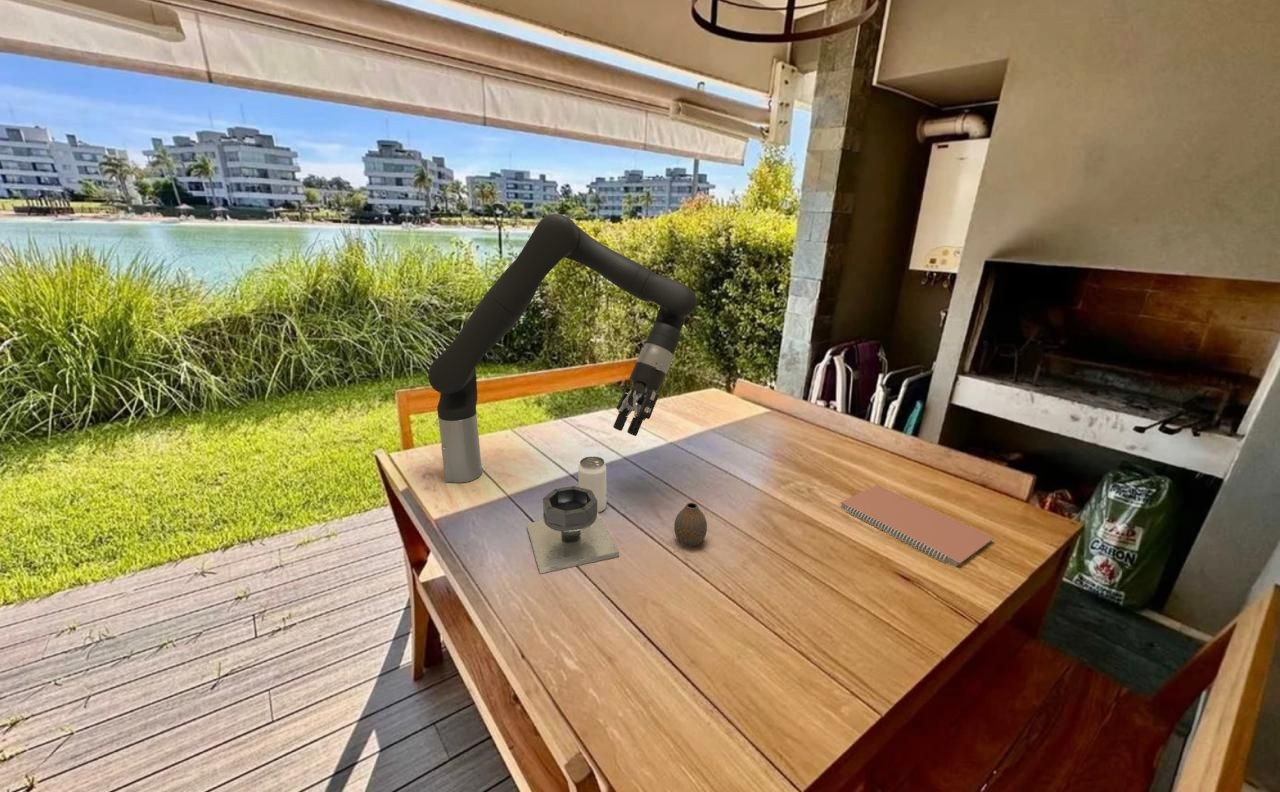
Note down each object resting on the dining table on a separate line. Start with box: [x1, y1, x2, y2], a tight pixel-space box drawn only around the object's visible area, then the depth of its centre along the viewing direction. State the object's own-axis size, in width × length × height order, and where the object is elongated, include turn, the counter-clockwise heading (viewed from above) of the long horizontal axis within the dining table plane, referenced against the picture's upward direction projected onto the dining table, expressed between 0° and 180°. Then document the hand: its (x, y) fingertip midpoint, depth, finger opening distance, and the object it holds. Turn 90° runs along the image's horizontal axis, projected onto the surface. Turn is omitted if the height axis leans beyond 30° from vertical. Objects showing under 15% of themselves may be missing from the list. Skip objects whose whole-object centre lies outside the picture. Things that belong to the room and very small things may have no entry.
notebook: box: [839, 484, 995, 568], centre depth 114 cm, size 27×17×2 cm, turn 34°
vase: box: [673, 502, 708, 547], centre depth 105 cm, size 7×7×9 cm
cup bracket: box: [526, 485, 620, 575], centre depth 104 cm, size 16×16×10 cm
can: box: [577, 455, 607, 513], centre depth 116 cm, size 6×6×12 cm
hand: (624, 431), depth 113 cm, fingers open, 8 cm apart
